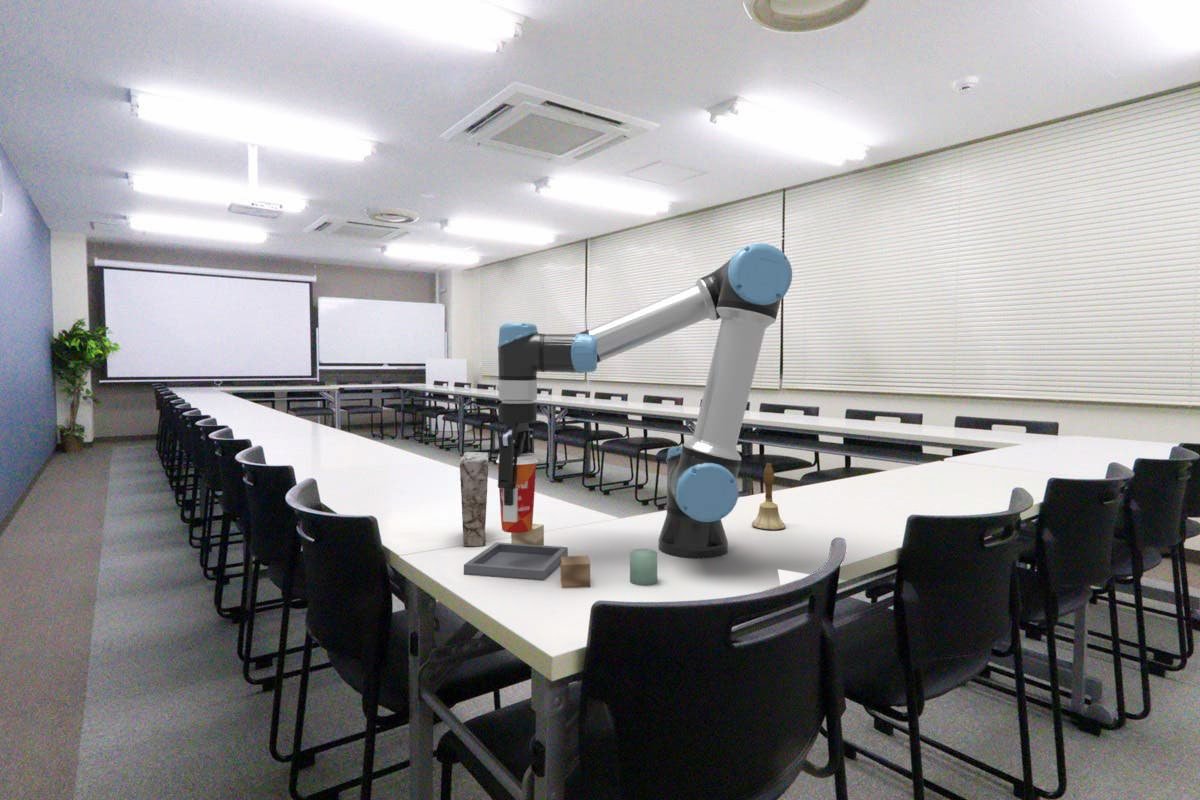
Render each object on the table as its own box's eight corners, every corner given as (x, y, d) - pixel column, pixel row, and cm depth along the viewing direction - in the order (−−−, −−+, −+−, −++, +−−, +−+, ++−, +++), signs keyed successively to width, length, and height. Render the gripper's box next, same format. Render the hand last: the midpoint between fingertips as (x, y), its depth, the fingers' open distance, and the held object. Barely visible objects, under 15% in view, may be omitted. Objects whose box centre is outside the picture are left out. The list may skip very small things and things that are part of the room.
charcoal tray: (567, 558, 132) (567, 547, 132) (543, 583, 116) (543, 571, 116) (496, 553, 135) (496, 542, 135) (463, 577, 120) (463, 564, 120)
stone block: (492, 546, 141) (492, 457, 140) (460, 548, 139) (460, 458, 138) (487, 531, 154) (487, 450, 153) (458, 533, 152) (457, 451, 151)
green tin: (658, 581, 118) (659, 549, 118) (655, 590, 113) (655, 557, 113) (632, 579, 119) (632, 548, 119) (627, 588, 114) (627, 555, 114)
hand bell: (779, 531, 155) (780, 466, 154) (747, 526, 159) (747, 464, 158) (789, 524, 161) (790, 462, 161) (758, 520, 166) (758, 460, 165)
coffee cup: (488, 531, 123) (488, 455, 123) (509, 522, 131) (509, 450, 130) (525, 536, 120) (525, 458, 119) (545, 526, 128) (545, 453, 127)
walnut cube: (587, 582, 118) (587, 555, 117) (590, 591, 113) (590, 563, 112) (560, 583, 117) (560, 556, 117) (562, 592, 112) (562, 564, 112)
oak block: (543, 546, 141) (543, 524, 141) (535, 551, 137) (535, 528, 137) (520, 543, 143) (520, 522, 143) (511, 548, 139) (511, 526, 139)
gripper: (517, 399, 135) (517, 505, 136) (479, 404, 115) (479, 527, 116) (551, 399, 133) (550, 507, 134) (517, 405, 114) (517, 530, 115)
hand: (517, 516), depth 125 cm, fingers closed on coffee cup, 7 cm apart
